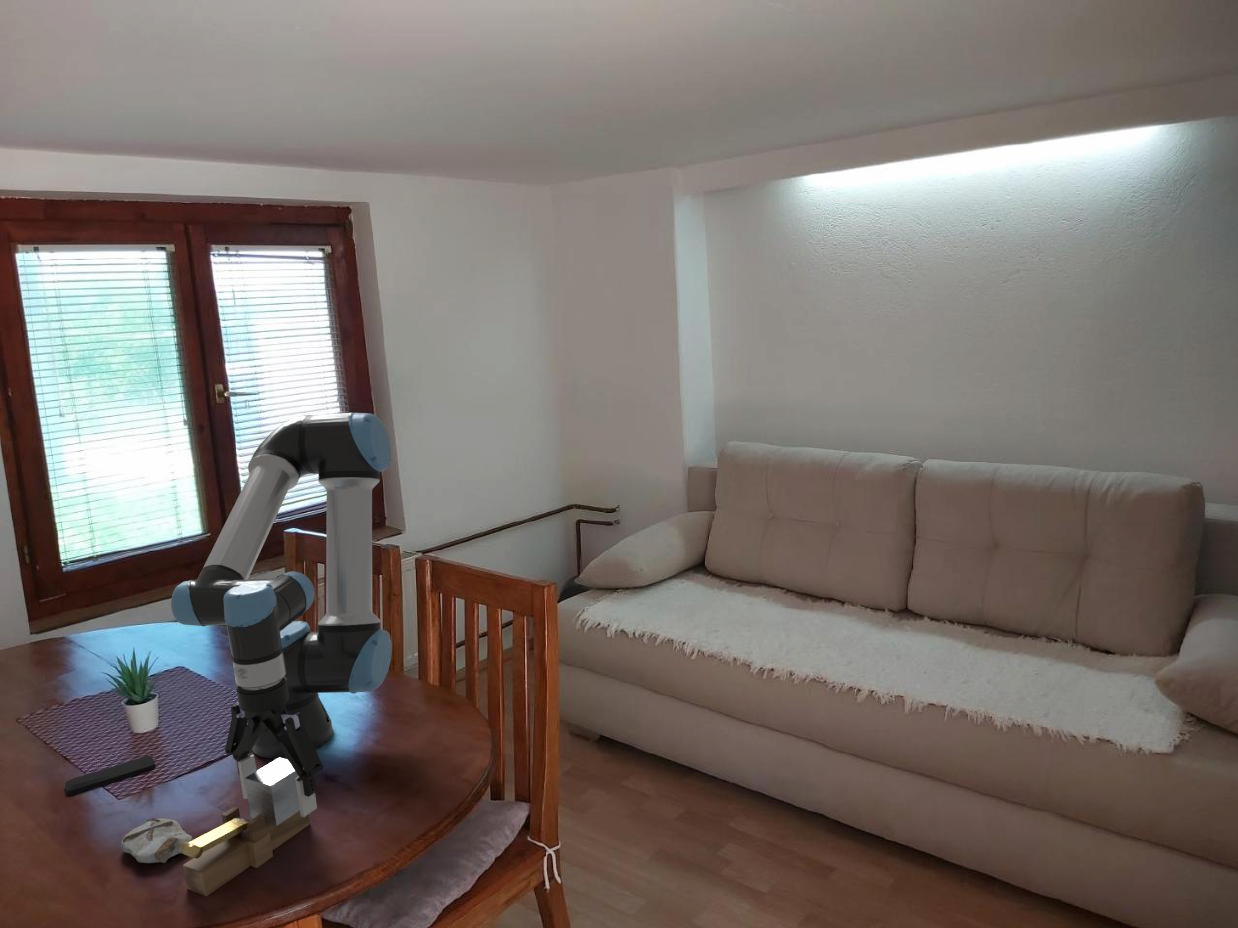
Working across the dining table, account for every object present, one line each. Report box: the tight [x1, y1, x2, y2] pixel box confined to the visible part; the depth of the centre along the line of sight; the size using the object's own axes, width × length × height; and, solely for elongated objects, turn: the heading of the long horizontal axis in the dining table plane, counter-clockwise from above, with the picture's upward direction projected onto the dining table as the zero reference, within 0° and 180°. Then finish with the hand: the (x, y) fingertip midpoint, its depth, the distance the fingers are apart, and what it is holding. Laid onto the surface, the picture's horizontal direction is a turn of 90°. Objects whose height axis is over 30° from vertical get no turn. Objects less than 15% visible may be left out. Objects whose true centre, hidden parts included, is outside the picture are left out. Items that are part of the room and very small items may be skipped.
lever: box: [179, 816, 250, 859], centre depth 140 cm, size 4×2×11 cm
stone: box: [120, 817, 193, 864], centre depth 149 cm, size 12×9×3 cm
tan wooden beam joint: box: [182, 806, 311, 898], centre depth 145 cm, size 7×20×7 cm, turn 151°
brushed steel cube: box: [245, 757, 304, 826], centre depth 150 cm, size 6×7×7 cm
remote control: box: [64, 755, 157, 796], centre depth 173 cm, size 5×2×15 cm
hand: (279, 803), depth 150 cm, fingers open, 13 cm apart
